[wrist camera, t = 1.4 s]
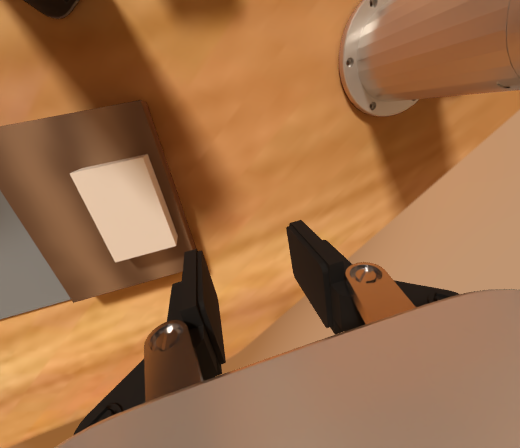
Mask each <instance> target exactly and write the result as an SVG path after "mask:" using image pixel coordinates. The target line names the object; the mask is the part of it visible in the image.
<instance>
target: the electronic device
mask: <svg viewBox="0 0 520 448" xmlns="http://www.w3.org/2000/svg"><path fill="white" fill-rule="evenodd" d="M24 1H25V2H27V3H28V4H30V5H31V6H32V7H34V8H35V9H37V10H38V11H40V12H41V13H43V14H45V15H46V16H48V17H51V18H56V19H59V18H64V17H66V16H67V15H68V14H70V12H71V11H72V10H73V8H74V7H75V6H76V4H77V3H78V1H79V0H24Z"/></svg>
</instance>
